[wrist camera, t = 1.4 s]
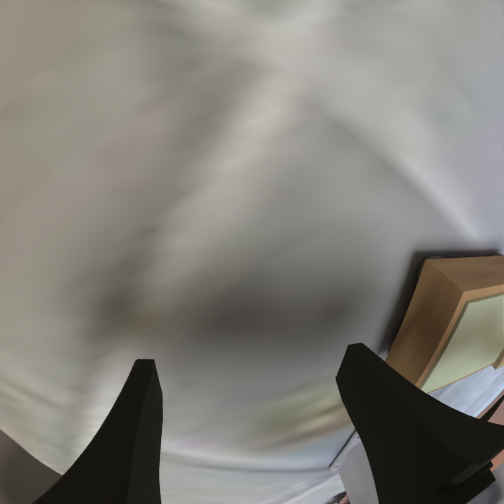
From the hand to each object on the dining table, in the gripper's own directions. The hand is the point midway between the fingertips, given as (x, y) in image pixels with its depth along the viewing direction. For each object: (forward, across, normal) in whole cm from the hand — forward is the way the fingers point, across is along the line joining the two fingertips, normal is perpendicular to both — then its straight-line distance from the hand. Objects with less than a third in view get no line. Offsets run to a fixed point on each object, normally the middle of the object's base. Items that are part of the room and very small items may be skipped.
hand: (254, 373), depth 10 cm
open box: (+3, -13, 0) cm, 13 cm away
